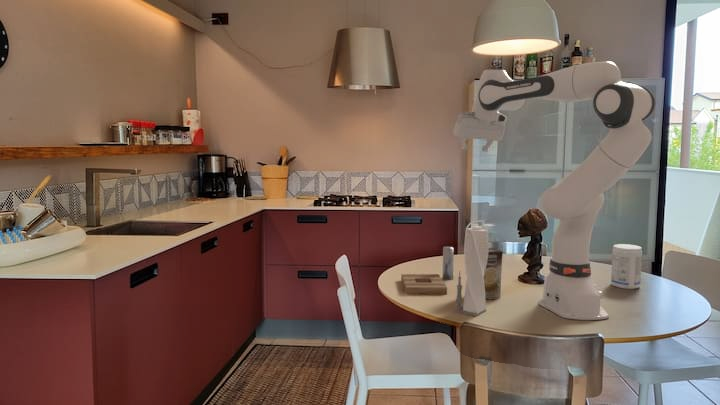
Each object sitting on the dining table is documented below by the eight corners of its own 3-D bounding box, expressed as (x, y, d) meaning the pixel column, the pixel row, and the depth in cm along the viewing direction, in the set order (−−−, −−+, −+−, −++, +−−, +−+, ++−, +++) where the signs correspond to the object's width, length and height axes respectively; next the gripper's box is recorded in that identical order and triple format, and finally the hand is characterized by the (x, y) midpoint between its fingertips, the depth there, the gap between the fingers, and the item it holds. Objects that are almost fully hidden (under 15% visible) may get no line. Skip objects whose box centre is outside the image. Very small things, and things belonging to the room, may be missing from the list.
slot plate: (446, 294, 179) (447, 287, 179) (406, 294, 179) (406, 287, 178) (438, 280, 197) (438, 274, 196) (401, 280, 197) (401, 274, 196)
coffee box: (477, 300, 172) (478, 252, 170) (467, 295, 178) (468, 249, 176) (501, 298, 174) (502, 251, 173) (490, 293, 180) (492, 247, 179)
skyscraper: (467, 305, 167) (470, 218, 164) (491, 310, 162) (494, 221, 158) (454, 311, 160) (457, 221, 157) (478, 317, 155) (481, 224, 152)
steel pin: (453, 279, 198) (454, 248, 196) (443, 279, 198) (444, 248, 196) (452, 277, 202) (452, 246, 200) (441, 277, 202) (442, 246, 200)
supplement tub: (631, 282, 195) (633, 243, 194) (645, 289, 186) (648, 248, 184) (605, 282, 195) (607, 243, 193) (618, 289, 186) (621, 248, 184)
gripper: (464, 112, 181) (455, 151, 186) (511, 118, 190) (500, 154, 195) (455, 108, 187) (446, 146, 191) (500, 114, 195) (490, 149, 200)
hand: (474, 150), depth 193 cm, fingers open, 8 cm apart
